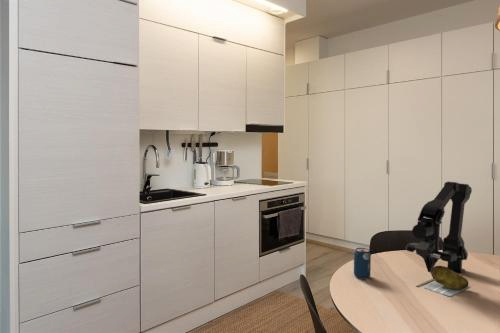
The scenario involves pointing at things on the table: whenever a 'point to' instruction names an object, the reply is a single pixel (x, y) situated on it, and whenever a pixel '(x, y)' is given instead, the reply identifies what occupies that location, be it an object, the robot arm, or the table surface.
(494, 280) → the table surface
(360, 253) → the soda can
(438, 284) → the mat
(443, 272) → the potato
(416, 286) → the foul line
